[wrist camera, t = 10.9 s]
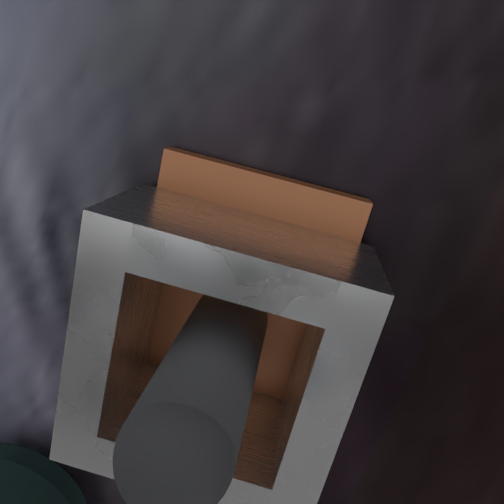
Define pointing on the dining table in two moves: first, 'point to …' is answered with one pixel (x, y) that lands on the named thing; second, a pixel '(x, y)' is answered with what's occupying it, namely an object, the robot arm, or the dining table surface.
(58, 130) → the dining table surface
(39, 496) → the bracket
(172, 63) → the dining table surface
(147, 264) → the white square sleeve
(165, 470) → the keeper
